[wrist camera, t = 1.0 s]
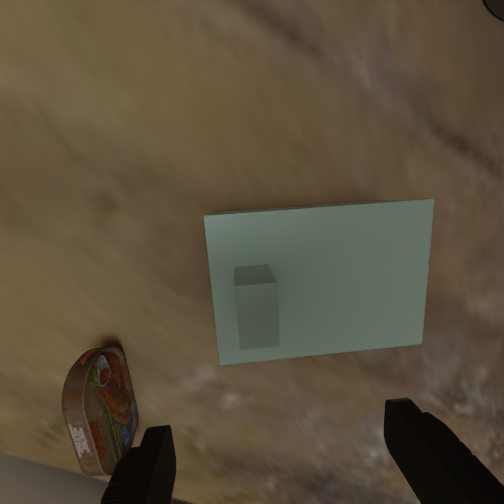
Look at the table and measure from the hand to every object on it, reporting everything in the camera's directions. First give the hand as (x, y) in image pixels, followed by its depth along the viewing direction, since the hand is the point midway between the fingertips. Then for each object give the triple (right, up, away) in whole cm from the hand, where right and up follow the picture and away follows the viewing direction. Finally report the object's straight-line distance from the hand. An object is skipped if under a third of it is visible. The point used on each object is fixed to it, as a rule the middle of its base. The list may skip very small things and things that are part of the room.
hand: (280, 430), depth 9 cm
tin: (-19, -11, +25) cm, 33 cm away
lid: (+5, +4, +17) cm, 18 cm away
